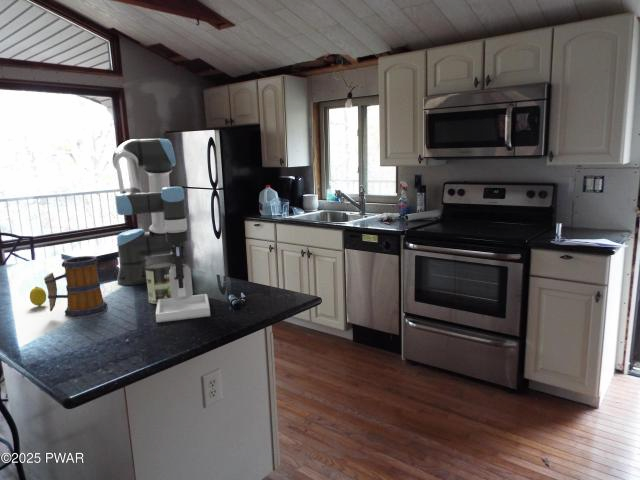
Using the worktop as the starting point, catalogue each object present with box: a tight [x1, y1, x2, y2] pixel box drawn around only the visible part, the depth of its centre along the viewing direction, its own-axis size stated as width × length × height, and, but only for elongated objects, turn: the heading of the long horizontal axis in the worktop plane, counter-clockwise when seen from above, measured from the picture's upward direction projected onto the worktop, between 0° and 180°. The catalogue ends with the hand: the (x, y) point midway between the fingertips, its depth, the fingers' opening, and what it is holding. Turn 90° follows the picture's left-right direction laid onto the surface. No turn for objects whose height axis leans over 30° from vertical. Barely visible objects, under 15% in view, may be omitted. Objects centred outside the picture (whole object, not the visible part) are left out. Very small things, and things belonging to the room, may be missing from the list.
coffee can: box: [145, 262, 174, 305], centre depth 188 cm, size 10×10×14 cm
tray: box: [155, 293, 211, 324], centre depth 174 cm, size 18×18×3 cm
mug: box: [43, 255, 109, 319], centre depth 175 cm, size 19×14×20 cm
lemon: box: [29, 286, 47, 307], centre depth 186 cm, size 6×6×8 cm
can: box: [169, 263, 194, 300], centre depth 173 cm, size 8×8×12 cm
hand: (181, 293), depth 173 cm, fingers closed on can, 7 cm apart
